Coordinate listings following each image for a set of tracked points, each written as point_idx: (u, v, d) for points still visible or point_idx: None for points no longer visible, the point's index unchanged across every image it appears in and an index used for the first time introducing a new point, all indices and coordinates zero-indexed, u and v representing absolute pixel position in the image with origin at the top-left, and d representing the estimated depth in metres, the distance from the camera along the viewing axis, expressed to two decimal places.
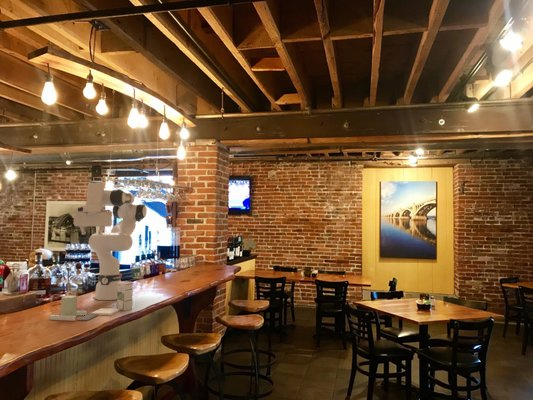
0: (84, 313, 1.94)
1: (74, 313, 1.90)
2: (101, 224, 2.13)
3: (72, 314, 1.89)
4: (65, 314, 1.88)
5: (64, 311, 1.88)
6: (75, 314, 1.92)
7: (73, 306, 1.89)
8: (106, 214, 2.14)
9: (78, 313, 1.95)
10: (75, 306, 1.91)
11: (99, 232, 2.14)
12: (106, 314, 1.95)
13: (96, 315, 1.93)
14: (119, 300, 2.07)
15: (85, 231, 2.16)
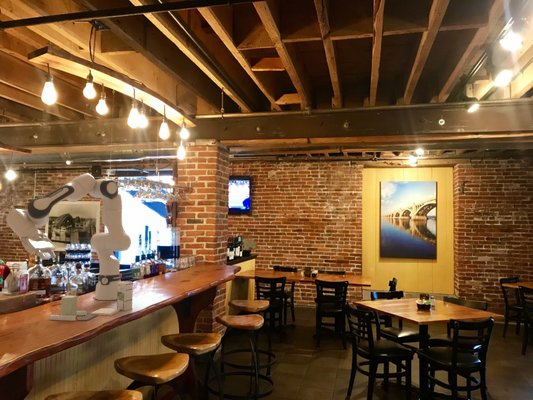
0: (84, 313, 1.94)
1: (74, 313, 1.90)
2: None
3: (72, 314, 1.89)
4: (65, 314, 1.88)
5: (64, 311, 1.88)
6: (75, 314, 1.92)
7: (73, 306, 1.89)
8: None
9: (78, 313, 1.95)
10: (75, 306, 1.91)
11: None
12: (106, 314, 1.95)
13: (96, 315, 1.93)
14: (119, 300, 2.07)
15: (52, 254, 1.99)
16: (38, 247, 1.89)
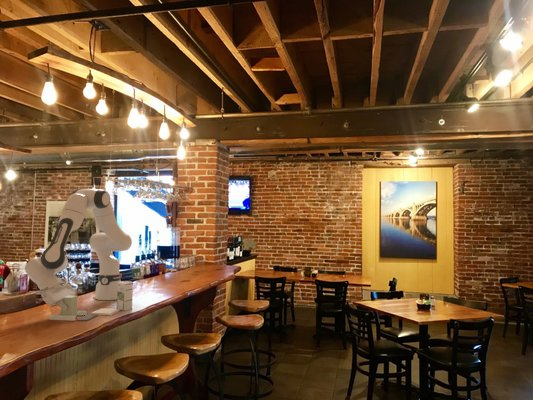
0: (84, 313, 1.94)
1: (74, 313, 1.90)
2: None
3: (72, 314, 1.89)
4: (65, 314, 1.88)
5: (64, 311, 1.88)
6: (75, 314, 1.92)
7: (73, 306, 1.89)
8: None
9: (78, 313, 1.95)
10: (75, 306, 1.91)
11: None
12: (106, 314, 1.95)
13: (96, 315, 1.93)
14: (119, 300, 2.07)
15: None
16: (58, 298, 1.85)
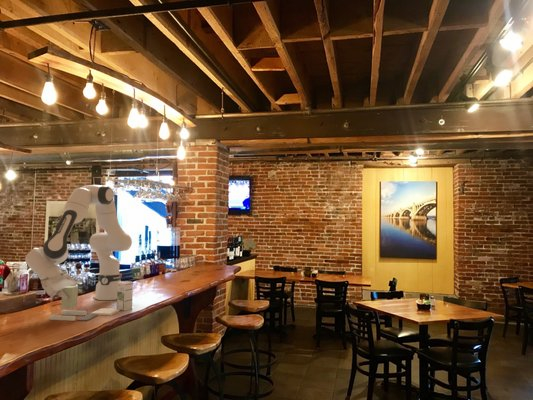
0: (84, 313, 1.94)
1: (74, 304, 1.91)
2: None
3: (73, 304, 1.89)
4: (66, 304, 1.88)
5: (64, 301, 1.88)
6: (76, 304, 1.92)
7: (73, 296, 1.90)
8: None
9: (78, 313, 1.95)
10: (76, 296, 1.92)
11: None
12: (106, 314, 1.95)
13: (96, 315, 1.93)
14: (119, 300, 2.07)
15: None
16: (59, 288, 1.85)
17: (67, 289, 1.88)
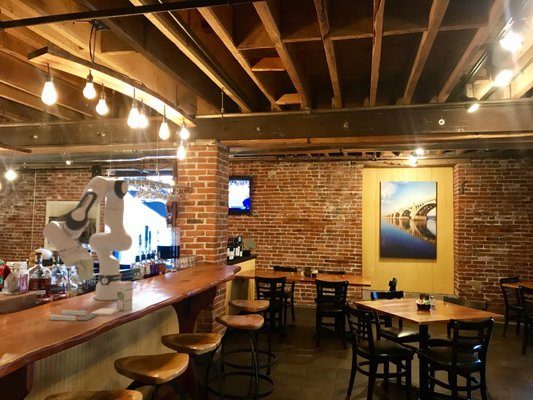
0: (84, 313, 1.94)
1: (90, 275, 1.96)
2: None
3: (89, 275, 1.94)
4: (82, 275, 1.93)
5: (81, 272, 1.93)
6: (92, 276, 1.97)
7: (89, 267, 1.94)
8: None
9: (78, 313, 1.95)
10: (92, 268, 1.97)
11: None
12: (106, 314, 1.95)
13: (96, 315, 1.93)
14: (119, 300, 2.07)
15: None
16: (75, 259, 1.90)
17: (83, 261, 1.93)
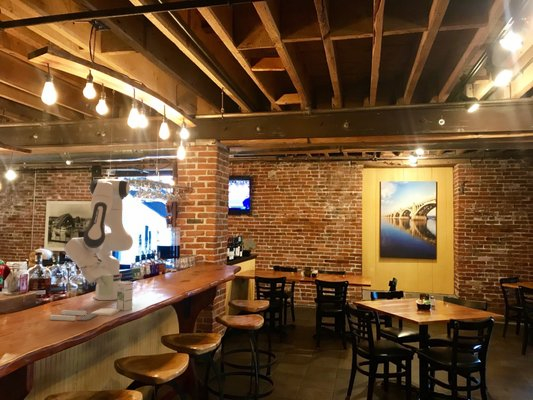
0: (84, 313, 1.94)
1: (111, 291, 2.01)
2: None
3: (109, 291, 1.99)
4: (103, 291, 1.98)
5: (101, 288, 1.98)
6: (111, 291, 2.02)
7: (110, 283, 2.00)
8: None
9: (78, 313, 1.95)
10: (111, 284, 2.02)
11: None
12: (106, 314, 1.95)
13: (96, 315, 1.93)
14: (119, 300, 2.07)
15: None
16: (97, 276, 1.95)
17: (104, 277, 1.99)
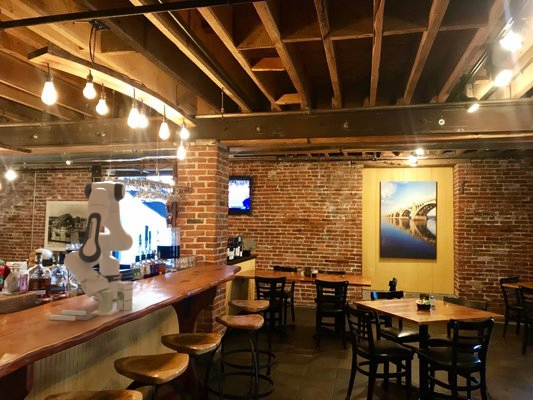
0: (84, 313, 1.94)
1: (110, 307, 2.01)
2: None
3: (109, 307, 1.99)
4: (102, 308, 1.98)
5: (101, 304, 1.98)
6: (111, 308, 2.02)
7: (109, 300, 2.00)
8: None
9: (78, 313, 1.95)
10: (111, 300, 2.02)
11: None
12: (106, 314, 1.95)
13: (96, 315, 1.93)
14: (119, 300, 2.07)
15: None
16: (96, 290, 1.95)
17: (104, 293, 1.98)
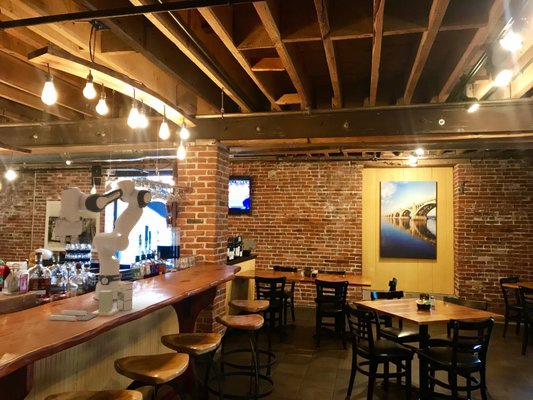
0: (84, 313, 1.94)
1: (110, 307, 2.01)
2: None
3: (109, 307, 1.99)
4: (102, 308, 1.98)
5: (101, 304, 1.98)
6: (111, 308, 2.02)
7: (109, 300, 2.00)
8: None
9: (78, 313, 1.95)
10: (111, 300, 2.02)
11: None
12: (106, 314, 1.95)
13: (96, 315, 1.93)
14: (119, 300, 2.07)
15: (73, 240, 2.10)
16: (65, 234, 2.00)
17: (104, 293, 1.98)
